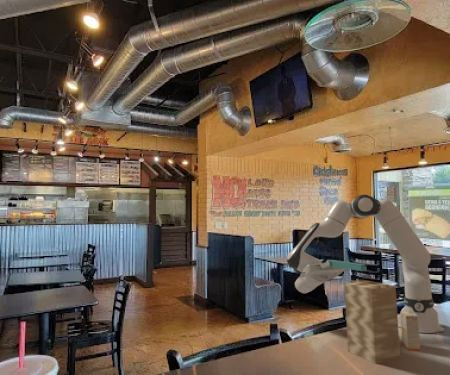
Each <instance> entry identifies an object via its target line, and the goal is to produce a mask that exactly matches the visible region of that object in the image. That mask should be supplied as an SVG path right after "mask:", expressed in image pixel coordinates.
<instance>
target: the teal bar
mask: <svg viewBox="0 0 450 375" xmlns="http://www.w3.org/2000/svg"><path fill="white" fill-rule="evenodd" d="M325 261H326V262H327V261H331V263H332V264H331V265H330V266H333V267H339V268H345V270H353V271H358V272H359V271H360V272H365V271H366V269H367V267H366V264H364V263H357V262H349V261H343V260H337V261H336V260H335V259H326V260H325Z"/></svg>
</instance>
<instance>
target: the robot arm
mask: <svg viewBox="0 0 450 375" xmlns="http://www.w3.org/2000/svg"><path fill="white" fill-rule="evenodd" d="M370 216H371V217H373V218H375V219H376V220H377V221H378V223H379V225H380V226H381V227H382V229H383V231H384V232H385V234H386V235H387V237H388V239H390V241H391V243H392V245H393V247H394V248H395V249H396V251H397V252H398V253H399V255H400V257H401V263H402V266H401V267H402V274H403V281H404V282H403V283H404V297H403V298H404V299H403V301H404V307H403V308H402V309H401V311H412V312H413V313H415V314H416V315H417V316H418V323H419V333H422V334H432V333H433V334H435V333H440V332H445V328H444V327H442V326H441V325H440V322H439V315H438V314H439V313H438V311H436V309H435V308H434V298H433V296H432V285H431V283H432V282H431V277H430V272H429V271H430V270H429V267H428V266H429V265H430V263H431V259H432V257H431V254H430V251H429V250H428V249H427V248H426V246H425V244H424V243H423V242H422V241H421V239H420V238H419V236H418V235H417V234H416V232H415V231H414V230H413V229H412V226H410V224H409V222H408V221H407V219H406V218H405V216H404V215H403V213H402V212H401V211H400V210H399V208H398V207H397V206H396V205H395V204H394V203H393V201H391V200H390V199H387V198H384V199H380V200H378V199H377V198H375V197H373V196H371V195H369V194H359V195H357V196H355V198H354V199H353V200H352V201H351V202H347V201H345V200H340V199H339V200H337V201H335V202H334V203H333V204H332V205H331V207H330V208H329V210H328V211H327V213H326V215H325V216H324V218H323V219H322V220H321V221H320V222H315V223H314V224H312V225H311V226H310V228H309V229H308V230H307V231H306V232H305V234H304V235H303V236H302V237H301V239H299V241H298V242H297V244H296V245H295V246H294V247H293V248H292V249H291V251H290V252H289V253H288V254H287V257H286V262H287V265H288V266H289V268H291V269H293V270H297V271H299V272H300V274H299V275H300V276H298V278H296V280H295V282H294V287H295V289H296V290H297V291H298V292H300V293H302V294H308V293H309V292H312V291H313V290H315V289H316V288H317V287H319V286H320V285H322V284H324V283H327V282H329V281H333V280H335V279H336V277H337V276H340V275H341V274H342V273H343V272H344V271H345V270H346V269H345V268H339V267H333V266H330V265H331V264H332V263H331V261H327V262H323V261H322V260H320V259H319V258H316V257H315V256H312V255H311V254H309V253H307V252H305V250H306V249H307V247H309V245H310V243H311V242H312V241H313V240H314V239H315V238H319V237H320V238H321V237H323V238H337V237H340V236H341V235H342V234H343V232H344V230H345V229H346V227H347V225H348V223H349V222H350V220H351V219H352V218H354V219H359V220H364V219H366V218H367V219H368V218H369V217H370ZM336 261H338V260H336ZM398 328H401V321H400V322H399V323H398Z"/></svg>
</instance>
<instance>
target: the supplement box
mask: <svg viewBox="0 0 450 375" xmlns="http://www.w3.org/2000/svg"><path fill="white" fill-rule="evenodd" d="M400 322H401V327H400V328H401V341H402V345H404V346H405V348H406V349H407V350H411V351H421V340H420V339H421V338H420V332H419V323H418V316H417V315H416V314H415V313H413V312H412V311H402V310H401V311H400Z"/></svg>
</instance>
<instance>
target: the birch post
mask: <svg viewBox="0 0 450 375" xmlns="http://www.w3.org/2000/svg"><path fill="white" fill-rule="evenodd" d="M396 288H397V287H396V285H392V284H391V285H390V284H387V283H382V282H376V281H370V280H365V279H359V281H357V280H350V282H344V294H345V295H344V297H345V298H344V299H345V316H346V317H345V318H346V320H345V321H346V336H347V337H346V338H347V351H348V352H350V353H351V354H353V355H356V356H358V357H361V358H363V359H365V360H367V361H369V362H372V363H373V364H379V363H385V362H388V361H392V360H398V359H401V353H400V352H401V351H400V338H399V337H400V336H399V335H400V334H399V327H398V324H399V323H398V322H399V321H398V304H397V290H396Z"/></svg>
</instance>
